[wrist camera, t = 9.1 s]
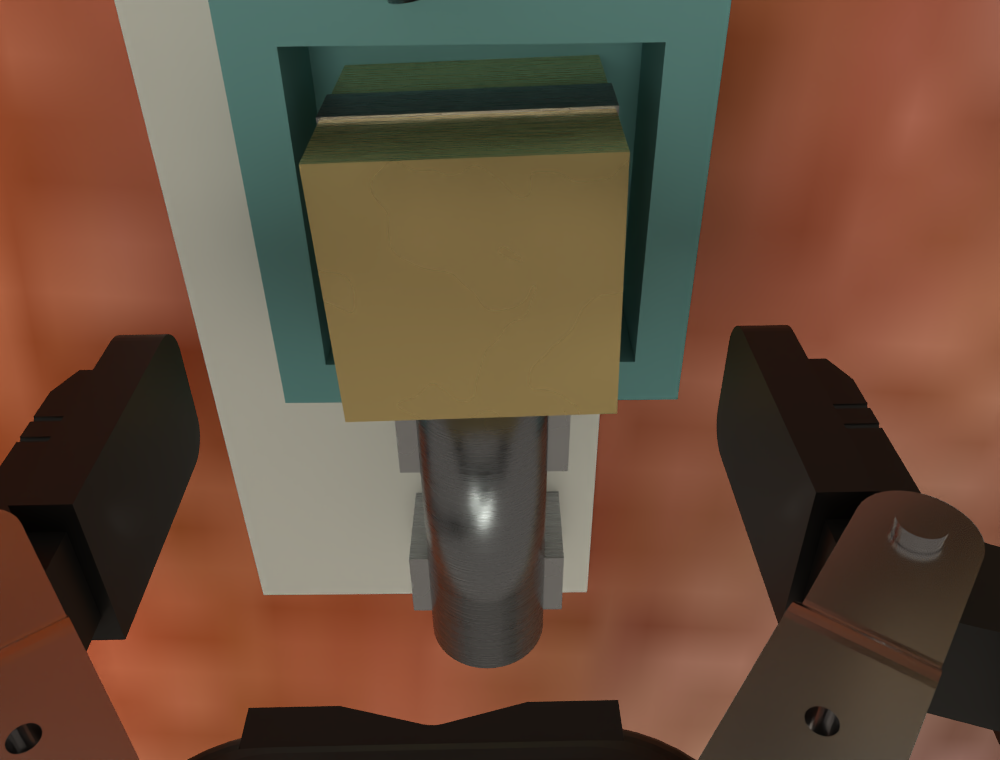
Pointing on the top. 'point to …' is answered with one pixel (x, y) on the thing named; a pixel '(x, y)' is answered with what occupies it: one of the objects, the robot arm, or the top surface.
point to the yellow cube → (471, 237)
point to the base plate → (253, 362)
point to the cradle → (478, 36)
